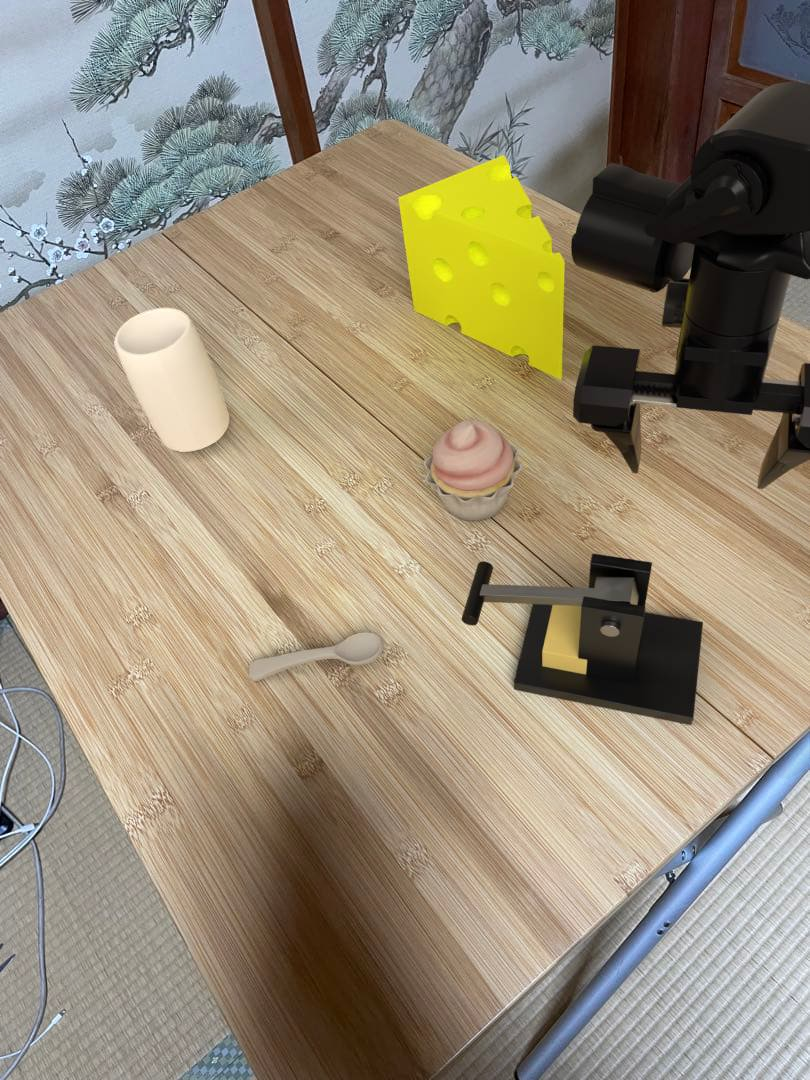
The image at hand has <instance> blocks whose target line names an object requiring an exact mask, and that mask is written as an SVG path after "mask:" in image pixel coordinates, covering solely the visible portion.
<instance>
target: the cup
mask: <svg viewBox="0 0 810 1080" xmlns="http://www.w3.org/2000/svg"><path fill="white" fill-rule="evenodd" d="M113 345H114V349H115V351H116V353H117V357H118V359H119V362H120V364H121V367H122V368H123V372H124V374H125V376H126V378H127V380H128V382H129V384H130V386H131V388H132V390H133V393H134V394H135V396H136V398H137V400H138V402H139V405H140V406H141V407H142V409H143V412H144V413H145V415H146V417H147V419H148V420H149V422H150V424H151V426H152V427H153V429H154V431H155V432H156V434H157V436H158V437H159V439H160V440H161V442H162V443H163V445H165V447H166V448H168V449H170V450H173V451H175V452H181V453H186V452H188V453H189V452H195V451H199V450H202V449H205V448H208V447H209V446H211V445H213V444H215V443H216V442H218V441H219V440H220V439H221V438H222V437H223V435H224V434H225V433H226V431H227V430H228V428H229V424H230V414H229V409H228V407H227V402H226V399H225V397H224V394H223V390H222V388H221V385H220V382H219V379H218V376H217V374H216V370H215V369H214V368H215V367H214V366H213V363H212V361H211V358H210V356H209V354H208V352H207V349H206V347H205V344H204V343H203V340H202V338H201V336H200V334H199V332H198V330H197V328H196V327H195V324H194V323H193V320H192V318H190V316H189V315H188V314H187V313H186V312H184V311H183V310H180V309H177V308H173V307H157V308H152V309H148V310H145V311H143V312H140V313H138V314H136V315H134V316H132V317H130V318H129V319H127V320H126V321H125V322H124V323H123V324H122V325H121V326H120V328H118V330H117V332H116V334H115V337H114V341H113Z"/></svg>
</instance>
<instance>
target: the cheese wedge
mask: <svg viewBox="0 0 810 1080" xmlns="http://www.w3.org/2000/svg"><path fill="white" fill-rule="evenodd" d="M508 161H509V160H507V158H506V155H505V154H503V155H500V156H498V157H495V158H493V159H491V160H488V161H485V162H483V163H480V164H478V165H475V166H472V167H471V168H468V169H465V170H463V171H461V172H458V173H456V174H453V175H451V176H448V177H445V178H443V179H441V180H438V181H436V182H433V183H431V184H428V185H426V186H424V187H421V188H419V189H416V190H414V191H412V192H409V193H406V194H404V195H401V196H398V199H397V200H398V206H399V213H400V220H401V226H402V232H403V233H402V234H403V242H404V248H405V256H406V263H407V269H408V276H409V285H410V291H411V298H412V305H413V312H415V313H418V314H420V315H422V316H424V317H426V318H428V319H431V320H433V321H434V322H437V323H439V324H441V325H443V326H445V327H448V326H449V325H451V324H455V323H456V324H457V323H458V324H459V325H460V329H461V330H460V334H463V335H465V336H466V337H469V338H471V339H473V340H475V341H477V342H479V343H482V344H484V345H485V346H488V347H490V348H493V349H494V350H496V351H498V352H501V353H502V354H505V355H507V356H509V357H511V358H514V357H515V356H518V355H526V356H528V363H527V365H529V366H531V367H533V368H534V369H537V370H539V371H540V372H541V371H542V372H543V373H545V374H547V375H550V376H551V377H554V378H556V379H558V380H561V381H562V380H563V350H564V349H563V346H564V345H563V344H564V341H563V340H564V311H565V310H564V307H565V306H564V304H565V271H566V270H565V265H566V264H565V263H566V261H565V259H564V257H563V256H562V254H561V252H553V238H552V236H551V234H550V233H549V231H548V230H547V227H546V226H545V224H544V222H543V220H542V218H541V217H540V215H537V216H534V217H532V210H533V209H532V208H533V203H532V202H531V200H530V198H529V196H528V194H527V192H526V191H525V189H524V188H523V186H522V184H521V182H520V181H519V179H518V177H517V176H516V175H514V177H513V176H512V174H511V173H512V171H511V164H510V163H509V162H508Z"/></svg>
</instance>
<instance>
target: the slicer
mask: <svg viewBox="0 0 810 1080" xmlns="http://www.w3.org/2000/svg"><path fill="white" fill-rule="evenodd" d="M652 567H653V562H652V561H646V560H638V559H633V558H627V557H619V556H613V555H606V554H600V553H598V554H597V553H592V554H591V557H590V562H589V577H588V586H587V588H594V587H595V582H596V577H632V578H634V579H635V583H636V588H637V592H638V596H639V598H638V604H637V605H634V604H628V603H622V602H616V601H610V600H604V599H598V598H592V597H586V596H584V597H583V601H582V606H581V620H580V636H579V651H578V658H579V659H584V660H587V668H586V674H581V673H575V672H570V671H565V670H560V669H554V668H549V667H544V666H542V650H543V646H544V641H545V637H546V633H547V628H548V624H549V619H550V615H551V611H552V606H553V605H543V604H531V608H530V613H529V617H528V621H527V626H526V630H525V634H524V638H523V643H522V645H521V651H520V655H519V659H518V662H517V667H516V671H515V676H514V679H513V690H515V691H519V692H524V693H529V694H534V695H539V696H543V697H549V698H554V699H558V700H563V701H568V702H572V703H578V704H583V705H589V706H592V707H593V706H594V707H597V708H602V709H603V708H605V709H608V710H614V711H618V712H624V713H628V714H632V715H633V714H634V715H639V716H642V717H643V716H644V717H649V718H652V719H657V720H664V721H668V722H672V723H677V724H678V723H679V724H683V725H688V726H692V725H693V722H694V717H695V709H696V697H697V686H698V678H699V677H698V676H699V669H700V668H699V667H700V658H701V657H700V656H701V648H702V636H703V627H704V622H703V621H700V620H695V619H688V618H683V617H675V616H671V615H665V614H658V613H652V612H647V611H646V604H647V603H646V602H647V596H648V591H649V585H650V579H651V572H652Z"/></svg>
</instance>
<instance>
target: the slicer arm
mask: <svg viewBox="0 0 810 1080" xmlns="http://www.w3.org/2000/svg"><path fill="white" fill-rule="evenodd" d="M493 572H494V566H493V564H492V563H490V562H488V561H485V560H484V561H483V560H482V561H479V562H478V563H477V565H476V569H475V572H474V576H473V579H472V583H471V585H470V588H469V592H468V595H467V598H466V599H467V600H466V602H465V605H464V609H463V612H462V615H461V622H463V623H464V624H465V625H466V626H467V625H468V626H477V625H478V623H479V619H480V616H481V614H482V613H481V612H482V609H483V606H484V603H496V604H497V603H499V604H521V605H533V604H543V605H566V606H582V601H583V597H584V596H586V597H592V598H598V599H604V600H610V601H616V602H622V603H628V604H634V605H637V604H638V598H639V596H638V592H637V588H636V583H635V579H634V578H632V577H596V582H595V587H594V588H588V587H577V586H553V585H552V586H549V585H547V586H546V585H521V584H520V585H517V584H490V583H491V578H492V575H493Z"/></svg>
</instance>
